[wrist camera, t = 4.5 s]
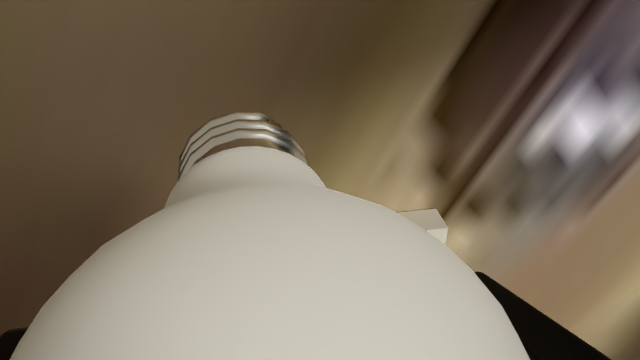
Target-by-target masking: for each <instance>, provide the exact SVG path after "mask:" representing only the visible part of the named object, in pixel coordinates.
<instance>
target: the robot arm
mask: <svg viewBox="0 0 640 360" xmlns="http://www.w3.org/2000/svg"><path fill="white" fill-rule="evenodd" d="M474 273H475V274H476V275H477V276H478V277H479V279H480V280H481V281H482V282H483V284H484V285H485V286H486V287H487V288H488V290H489V291H490V292H491V293H492V295H493V296H494V297H495V298H496V299H497V301H498V302H499V303H500V304H501V306H502V307H503V309H504V311H505V312H506V314H507V316H508V318H509V320H510V322H511V323H512V325H513V327H514V329H515V331H516V332H517V334H518V336H519V338H520V340H521V342H522V344H523V346H524V348H525V350H526V352H527V354H528V356H529V358H530V360H611V359H610V358H608V357H607V356H605V355H604V354H602V353H601V352H599V351H598V350H597V349H595V348H594V347H592V346H591V345H589V344H588V343H586V342H585V341H583V340H582V339H580V338H579V337H577V336H576V335H574V334H573V333H571V332H570V331H568V330H567V329H565V328H564V327H562V326H561V325H560V324H558V323H557V322H555V321H554V320H552V319H551V318H549V317H548V316H546V315H545V314H543V313H542V312H540V311H539V310H537V309H536V308H534V307H533V306H531V305H530V304H528V303H527V302H525V301H524V300H523V299H521V298H520V297H518V296H517V295H515V294H514V293H512V292H511V291H509V290H508V289H506V288H505V287H503V286H502V285H500V284H499V283H497V282H496V281H494V280H493V279H491V278H490V277H488V276H487V275H485V274H484V273H481V272H474ZM28 328H29V327H26V328H18V329H11V330H8V331H6V332H5V333H3V334H2V335H1V336H0V360H10V358H11V356H12V354H13V352H14V350H15V349H16V347H17V345H18V343H19V341H20V340H21V338H22V337H23V335H24V334H25V332H26V331H27V329H28Z"/></svg>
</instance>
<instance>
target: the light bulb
mask: <svg viewBox="0 0 640 360" xmlns="http://www.w3.org/2000/svg"><path fill="white" fill-rule="evenodd" d="M10 360H530V358H529V356H528V354H527V352H526V350H525V348H524V346H523V344H522V342H521V340H520V338H519V336H518V334H517V332H516V331H515V329H514V327H513V325H512V323H511V322H510V320H509V318H508V316H507V314H506V312H505V311H504V309H503V307H502V306H501V304H500V303H499V302H498V301H497V299H496V298H495V297H494V296H493V295H492V293H491V292H490V291H489V290H488V288H487V287H486V286H485V285H484V284H483V282H482V281H481V280H480V279H479V277H478V276H477V275H476V274H475V273H474V271H473V270H472V269H470V268H469V267H468V266H467V265H466V264H465V263H464V262H463V261H462V260H461V259H460V258H459V257H458V256H457V255H456V254H455V253H454V252H453V251H452V250H451V249H450V248H449V247H448V246H446V245H445V244H444V243H442V242H441V241H439V240H438V239H437V238H435V237H434V236H433V235H431V234H430V233H428V232H427V231H426V230H424V229H423V228H421V227H420V226H419V225H417V224H415V223H414V222H412V221H410V220H408V219H407V218H405V217H403V216H401V215H400V214H398V213H396V212H394V211H393V210H391V209H389V208H387V207H386V206H383V205H380V204H377V203H373V202H370V201H367V200H364V199H361V198H358V197H355V196H352V195H348V194H345V193H342V192H338V191H335V190H331V189H328V188H327V187H326V186H325V185H324V183H323V182H322V180H321V179H320V178H319V176H318V175H317V174H316V173H315V172H314V171H313V170H312V169H311V168H310V167H309V166H308V162H307V159H306V157H305V153H304V150H303V147H302V146H301V145H300V144H299V143H298V142H297V141H296V140H295V139H294V137H293V136H292V135H291V134H290V133H289V132H288V131H287V130H285V129H283V127H282V126H281V125H280V124H278V123H277V122H275V121H274V120H273V119H271V118H270V117H269V116H267V115H266V114H264V113H263V112H253V111H233V112H230V113H227V114H224V115H221V116H217V117H214V118H211V119H210V120H209V121H207V122H206V123H205V124H204V125H202V126H201V127H200V128H199V129H197V130H196V131H195V132H194V133H192V134H191V135H190V137H189V139H188V141H187V143H186V145H185V147H184V149H183V151H182V152H181V154H180V156H179V169H178V182H177V184H176V185H175V187H174V188H173V190H172V192H171V193H170V195H169V198H168V200H167V203H166V205H165V208H164V209H162V210H160V211H159V212H157V213H155V214H153V215H151V216H149V217H148V218H146V219H144V220H142V221H141V222H139V223H138V224H136V225H134V226H133V227H131V228H129V229H128V230H126V231H124V232H123V233H121V234H120V235H118V236H116V237H115V238H113V239H111V240H110V241H108V242H107V243H105V244H103V245H102V246H101V247H100V248H99V249H98V250H97V251H96V252H95V253H94V254H93V255H92V256H90V257H89V258H88V259H87V260H86V261H85V262H84V263H83V264H82V265H81V266H80V267H79V268H78V269H77V270H75V271H74V272H73V273H72V274H71V275H70V276H69V277H68V279H67V280H66V281H65V282H64V283H63V284H62V285H61V286H60V287H59V289H58V290H57V291H56V292H55V293H54V294H53V295H52V296H51V297H50V299H49V300H48V301H47V302H46V303H45V304H44V305H43V306H42V308H41V309H40V311H39V312H38V314H37V315H36V317H35V318H34V320H33V322H32V323H31V325H30V326H29V328H28V329H27V331H26V332H25V334H24V335H23V337H22V338H21V340H20V341H19V343H18V345H17V347H16V349H15V350H14V352H13V354H12V356H11V358H10Z"/></svg>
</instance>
